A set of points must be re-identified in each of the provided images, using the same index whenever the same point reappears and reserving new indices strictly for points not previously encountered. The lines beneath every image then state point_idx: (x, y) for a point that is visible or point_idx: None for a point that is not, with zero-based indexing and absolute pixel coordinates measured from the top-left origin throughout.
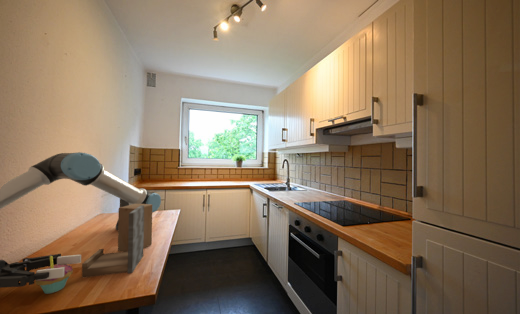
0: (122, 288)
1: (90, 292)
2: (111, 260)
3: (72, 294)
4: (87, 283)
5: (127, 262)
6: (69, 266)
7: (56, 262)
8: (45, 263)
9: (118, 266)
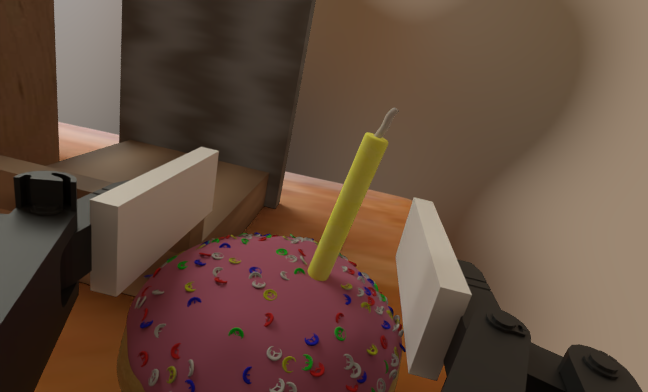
0: (382, 228)
1: (380, 281)
2: None
3: None
4: None
5: (249, 171)
6: (254, 234)
7: (74, 276)
8: (38, 333)
9: (256, 190)
